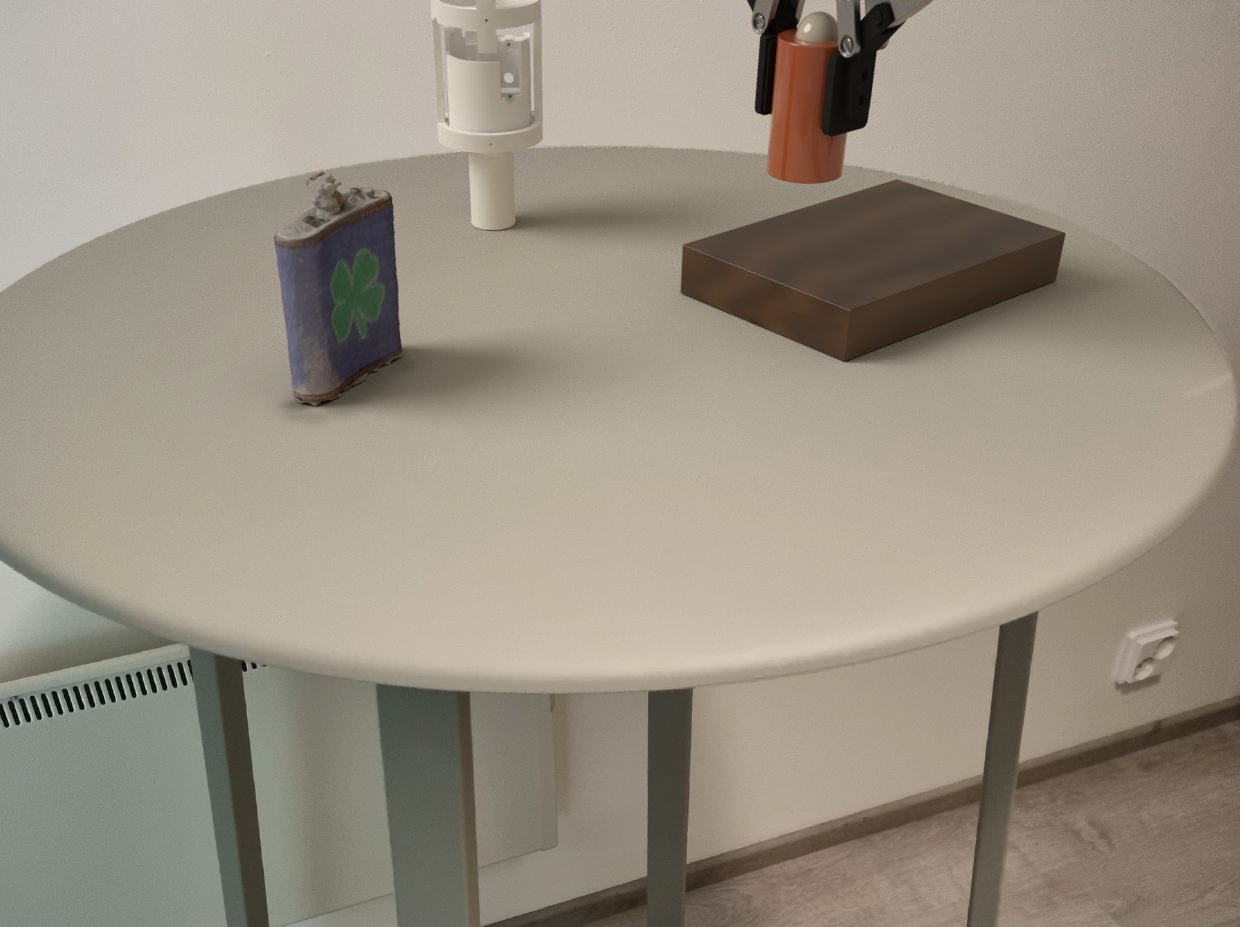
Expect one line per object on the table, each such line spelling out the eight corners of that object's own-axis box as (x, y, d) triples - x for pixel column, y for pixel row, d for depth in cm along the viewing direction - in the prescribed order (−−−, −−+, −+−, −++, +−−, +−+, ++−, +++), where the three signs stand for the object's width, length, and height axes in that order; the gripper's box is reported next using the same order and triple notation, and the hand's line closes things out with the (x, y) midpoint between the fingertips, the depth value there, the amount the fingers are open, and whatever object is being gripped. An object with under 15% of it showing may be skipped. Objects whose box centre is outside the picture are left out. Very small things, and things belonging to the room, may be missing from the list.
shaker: (858, 174, 87) (878, 13, 82) (805, 189, 85) (822, 26, 79) (803, 156, 90) (818, -1, 84) (750, 170, 87) (762, 10, 82)
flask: (320, 409, 82) (296, 204, 75) (277, 399, 83) (249, 195, 76) (413, 351, 88) (399, 156, 81) (372, 341, 90) (354, 148, 82)
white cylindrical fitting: (441, 241, 102) (427, -11, 92) (443, 206, 108) (430, -35, 98) (545, 239, 103) (542, -12, 93) (542, 205, 108) (539, -37, 98)
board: (1056, 281, 97) (1066, 232, 95) (844, 362, 87) (850, 310, 85) (890, 224, 105) (896, 179, 103) (679, 293, 95) (682, 244, 93)
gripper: (1040, -278, 70) (970, 143, 82) (779, -301, 80) (751, 79, 92) (935, -268, 67) (878, 170, 79) (675, -294, 76) (660, 100, 88)
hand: (810, 117), depth 85 cm, fingers closed on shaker, 4 cm apart
